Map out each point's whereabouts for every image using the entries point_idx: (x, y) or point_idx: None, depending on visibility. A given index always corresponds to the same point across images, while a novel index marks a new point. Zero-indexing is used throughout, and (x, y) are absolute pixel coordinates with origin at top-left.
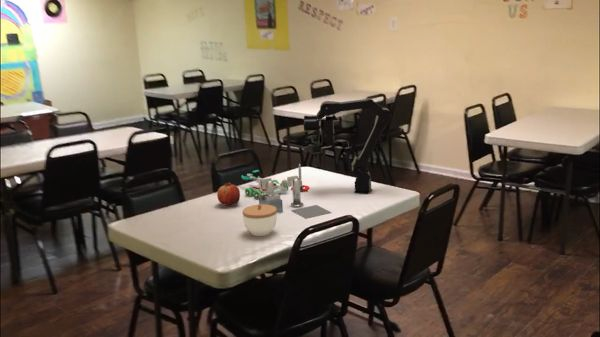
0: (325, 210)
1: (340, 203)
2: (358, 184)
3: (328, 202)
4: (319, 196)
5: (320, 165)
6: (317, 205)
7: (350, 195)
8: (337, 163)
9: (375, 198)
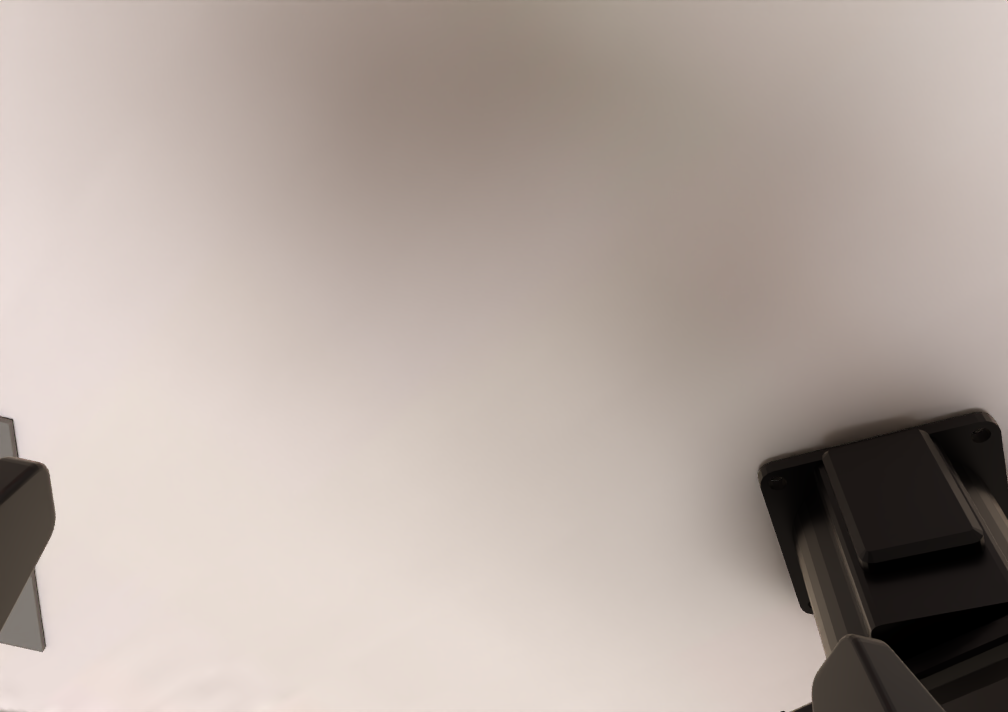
0: None
1: (298, 563)
2: (825, 598)
3: (205, 454)
4: (263, 186)
5: (7, 584)
6: (9, 447)
7: (625, 483)
8: (821, 686)
9: (701, 708)
